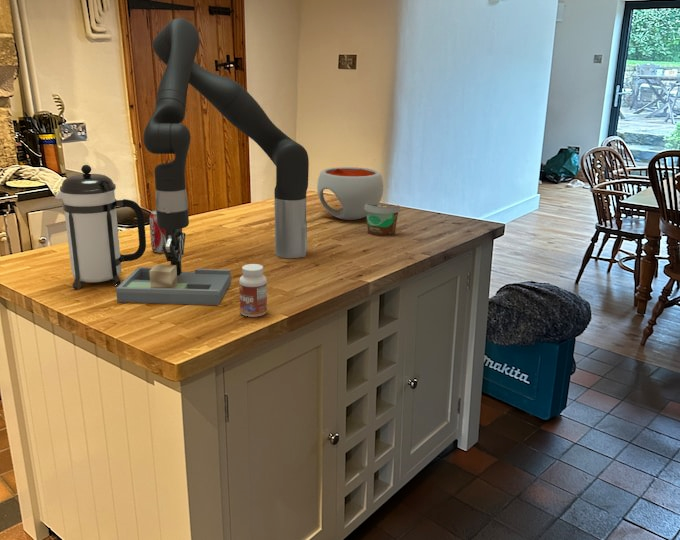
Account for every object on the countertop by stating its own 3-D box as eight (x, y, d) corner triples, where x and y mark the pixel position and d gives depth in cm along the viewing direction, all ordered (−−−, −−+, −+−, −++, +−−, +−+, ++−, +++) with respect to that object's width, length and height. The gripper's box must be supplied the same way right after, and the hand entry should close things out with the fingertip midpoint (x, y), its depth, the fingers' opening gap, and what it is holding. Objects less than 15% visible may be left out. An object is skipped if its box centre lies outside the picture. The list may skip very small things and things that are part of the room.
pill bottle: (234, 312, 147) (232, 267, 143) (254, 305, 151) (253, 260, 148) (252, 320, 143) (251, 273, 139) (272, 312, 147) (272, 266, 144)
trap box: (230, 282, 166) (230, 269, 165) (218, 305, 151) (217, 291, 150) (139, 279, 167) (138, 267, 165) (117, 302, 151) (116, 288, 150)
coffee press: (95, 296, 155) (82, 172, 145) (54, 283, 163) (39, 165, 153) (150, 277, 169) (141, 163, 159) (110, 266, 177) (99, 157, 167)
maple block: (177, 284, 156) (176, 265, 155) (171, 291, 152) (170, 271, 150) (157, 283, 157) (155, 264, 155) (150, 291, 152) (149, 271, 150)
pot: (383, 226, 224) (385, 175, 219) (315, 224, 224) (315, 174, 219) (380, 210, 247) (382, 164, 241) (318, 209, 247) (318, 163, 242)
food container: (358, 234, 213) (359, 205, 210) (364, 230, 219) (365, 201, 215) (393, 239, 209) (394, 209, 206) (399, 234, 214) (400, 205, 211)
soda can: (169, 255, 187) (166, 215, 183) (147, 253, 189) (144, 213, 185) (180, 248, 194) (177, 209, 190) (158, 246, 195) (155, 208, 191)
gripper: (164, 201, 162) (169, 266, 167) (148, 213, 149) (154, 283, 155) (193, 201, 161) (197, 266, 167) (180, 214, 149) (185, 284, 155)
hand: (176, 274), depth 161 cm, fingers closed
